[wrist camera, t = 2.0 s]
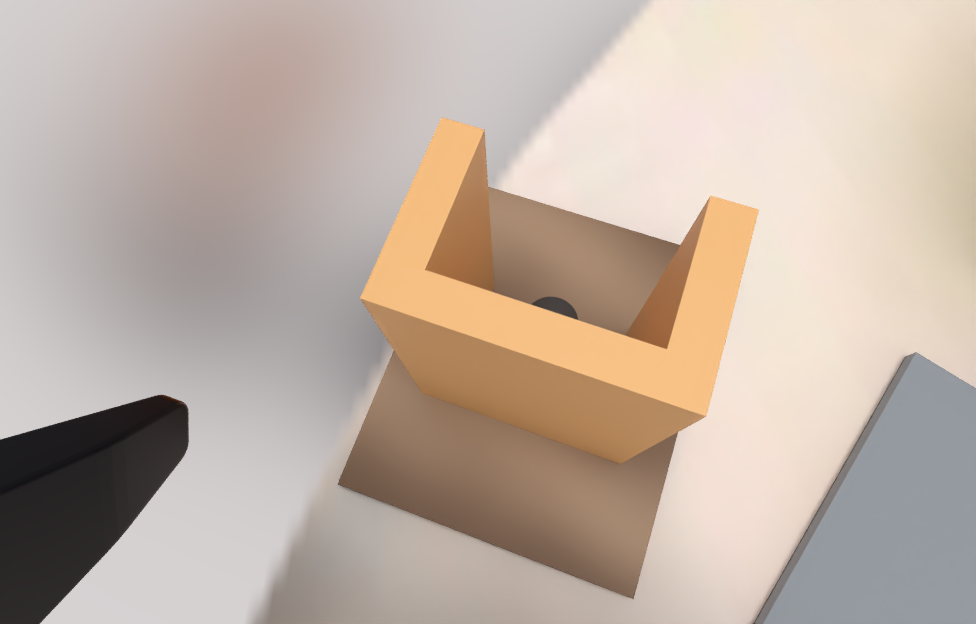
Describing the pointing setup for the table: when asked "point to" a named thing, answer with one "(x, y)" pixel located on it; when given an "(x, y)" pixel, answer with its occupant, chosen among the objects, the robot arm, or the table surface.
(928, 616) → the rubber mat
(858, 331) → the table surface
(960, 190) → the table surface
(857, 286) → the table surface
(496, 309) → the c link
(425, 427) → the stand
